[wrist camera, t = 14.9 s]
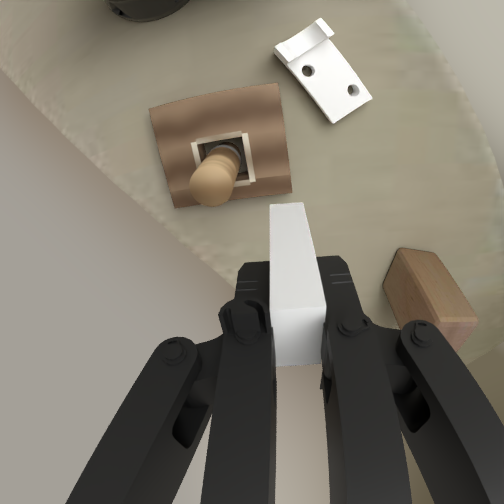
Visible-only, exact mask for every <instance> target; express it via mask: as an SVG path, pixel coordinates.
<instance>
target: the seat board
mask: <svg viewBox="0 0 504 504" xmlns="http://www.w3.org/2000/svg"><path fill="white" fill-rule="evenodd" d="M149 112H150V117H151V121H152V125H153V129H154V133H155V137H156V141H157V145H158V149H159V153H160V157H161V160H162V164H163V168H164V172H165V175H166V179H167V182H168V186H169V190H170V193H171V197H172V200H173V203H174V207H175V208H180V207H187V206H193V205H200V203H199V202H197V201H196V200H195V199H194V197H193V196H192V194H191V192H190V188H189V182H190V179H191V176H192V175H193V173H194V172H195V171H196V169H197V168H198V167H199V165H200V164H201V163H202V161H203V160H204V159H205V158H206V156H207V155H206V150H205V146H204V143H207V142H212V141H218V140H224V139H230V138H236V137H242V139H243V144H244V150H245V156H246V161H247V167H248V172H241V173H238V174H237V177H236V181H235V184H234V187H233V190H232V194H231V196H230V198H229V199H228V200H235V199H242V198H250V197H258V196H267V195H276V194H285V193H292V185H291V176H290V167H289V159H288V151H287V143H286V135H285V128H284V120H283V113H282V106H281V99H280V93H279V86H278V83H272V84H264V85H256V86H249V87H243V88H236V89H231V90H225V91H220V92H215V93H210V94H205V95H200V96H196V97H192V98H187V99H183V100H179V101H175V102H171V103H168V104H164V105H160V106H157V107H153V108H150V109H149Z"/></svg>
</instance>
